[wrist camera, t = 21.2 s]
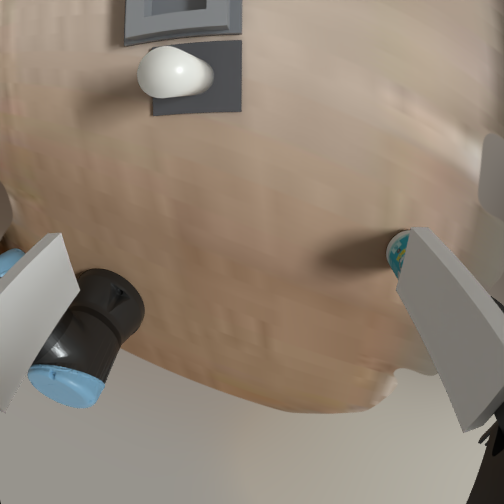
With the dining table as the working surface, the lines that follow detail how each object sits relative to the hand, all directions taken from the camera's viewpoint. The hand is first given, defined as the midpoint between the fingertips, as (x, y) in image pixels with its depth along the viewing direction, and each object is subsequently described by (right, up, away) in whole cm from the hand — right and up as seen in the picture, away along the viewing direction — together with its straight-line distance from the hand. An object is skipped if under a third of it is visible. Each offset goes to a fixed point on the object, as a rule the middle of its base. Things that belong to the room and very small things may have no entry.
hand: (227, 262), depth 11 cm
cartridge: (-6, +23, +24) cm, 34 cm away
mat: (-6, +23, +25) cm, 35 cm away
